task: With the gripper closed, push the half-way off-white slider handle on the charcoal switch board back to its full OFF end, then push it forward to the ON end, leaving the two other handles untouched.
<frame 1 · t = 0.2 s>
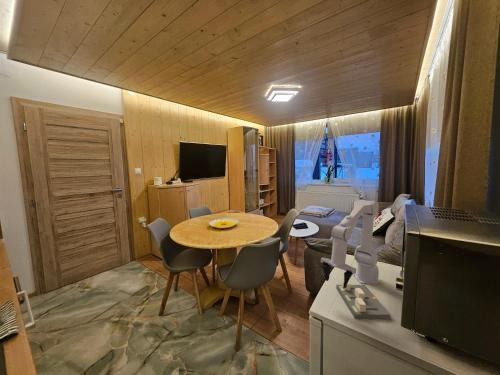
hand: (335, 283, 90), 10 cm above the table, tool pointing down, fingers open, 7 cm apart
breaker a: (346, 284, 100), point 4 cm above the table, slide at 6.0 cm
breaker tripped: (359, 293, 93), point 4 cm above the table, slide at 3.0 cm
breaker panel: (360, 302, 93), on the table
drinking glass: (419, 332, 77), on the table
breaker c: (360, 304, 86), point 4 cm above the table, slide at 6.0 cm
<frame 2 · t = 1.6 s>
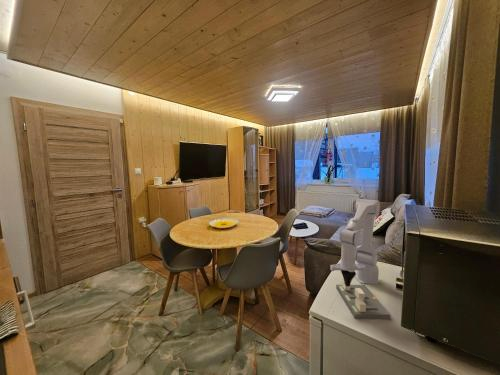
hand: (347, 285, 92), 8 cm above the table, tool pointing down, fingers closed
nothing on the table moved.
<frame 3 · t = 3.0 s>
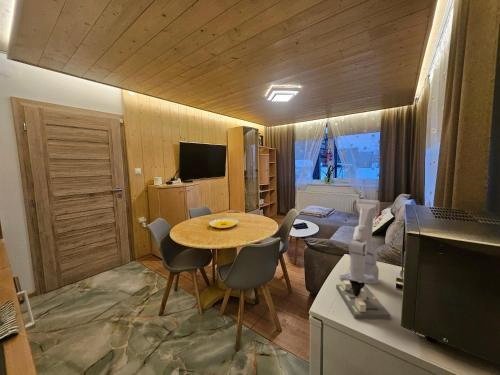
hand: (355, 295, 93), 3 cm above the table, tool pointing down, fingers closed
breaker tripped: (361, 293, 93), point 4 cm above the table, slide at 2.1 cm, touching gripper
everything else where it was.
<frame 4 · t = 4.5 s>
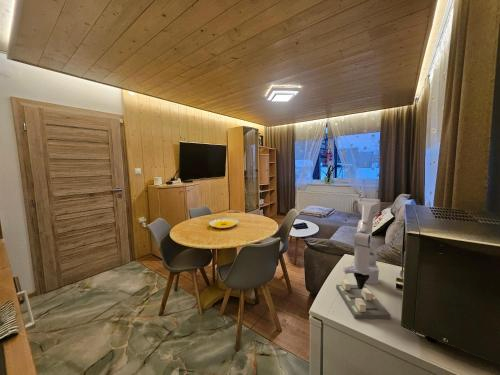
hand: (360, 287, 92), 7 cm above the table, tool pointing down, fingers closed
breaker tripped: (366, 294, 92), point 4 cm above the table, slide at -0.1 cm
everything else where it was.
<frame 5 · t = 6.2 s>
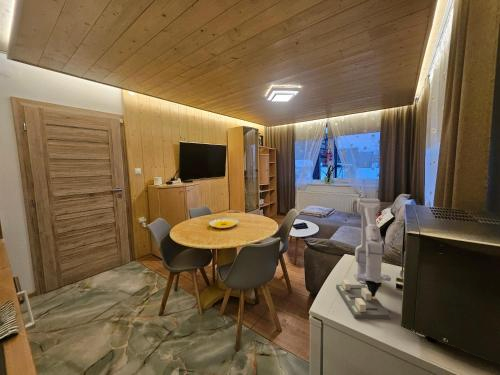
hand: (371, 295, 92), 3 cm above the table, tool pointing down, fingers closed
breaker tripped: (366, 294, 92), point 4 cm above the table, slide at 0.0 cm, touching gripper
everything else where it was.
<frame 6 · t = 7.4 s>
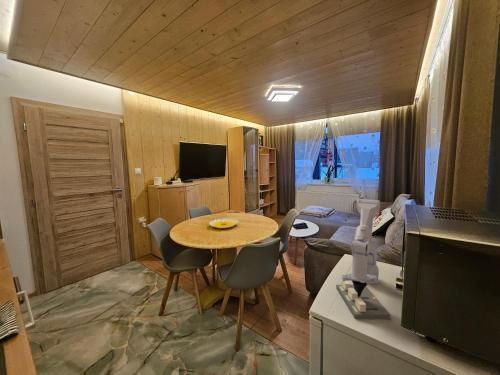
hand: (357, 295, 93), 3 cm above the table, tool pointing down, fingers closed
breaker tripped: (352, 293, 93), point 4 cm above the table, slide at 6.1 cm, touching gripper
everything else where it was.
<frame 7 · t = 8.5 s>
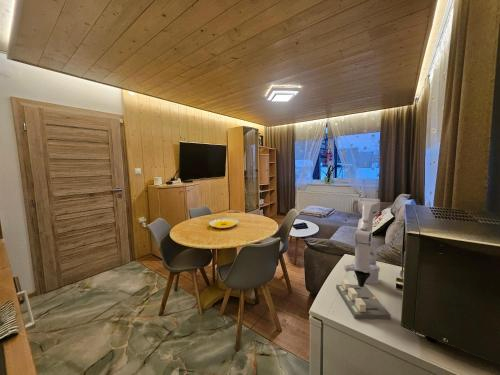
hand: (360, 285, 92), 8 cm above the table, tool pointing down, fingers closed
breaker tripped: (352, 293, 93), point 4 cm above the table, slide at 6.1 cm
everything else where it was.
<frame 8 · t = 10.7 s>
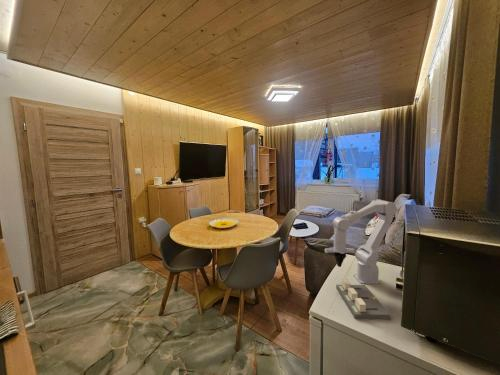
hand: (339, 265, 107), 9 cm above the table, tool pointing down, fingers closed
nothing on the table moved.
at the end: breaker tripped slide at 6.1 cm; breaker a slide at 6.0 cm; breaker c slide at 6.0 cm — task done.
